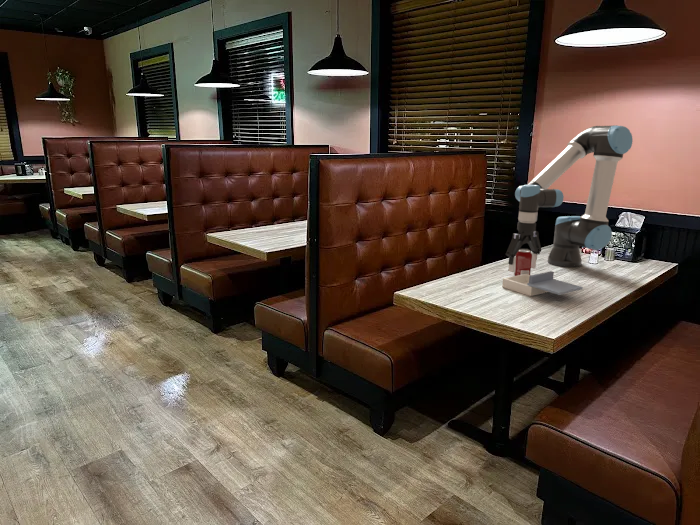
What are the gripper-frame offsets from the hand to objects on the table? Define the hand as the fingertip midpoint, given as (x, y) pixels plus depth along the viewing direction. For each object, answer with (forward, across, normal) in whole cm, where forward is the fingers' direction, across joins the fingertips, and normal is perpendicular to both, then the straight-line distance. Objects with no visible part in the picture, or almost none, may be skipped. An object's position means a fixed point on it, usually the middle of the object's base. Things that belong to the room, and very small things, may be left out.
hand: (522, 269), depth 217 cm
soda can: (+3, 0, 0) cm, 3 cm away
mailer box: (+3, +12, +13) cm, 18 cm away
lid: (-1, +12, +25) cm, 28 cm away
